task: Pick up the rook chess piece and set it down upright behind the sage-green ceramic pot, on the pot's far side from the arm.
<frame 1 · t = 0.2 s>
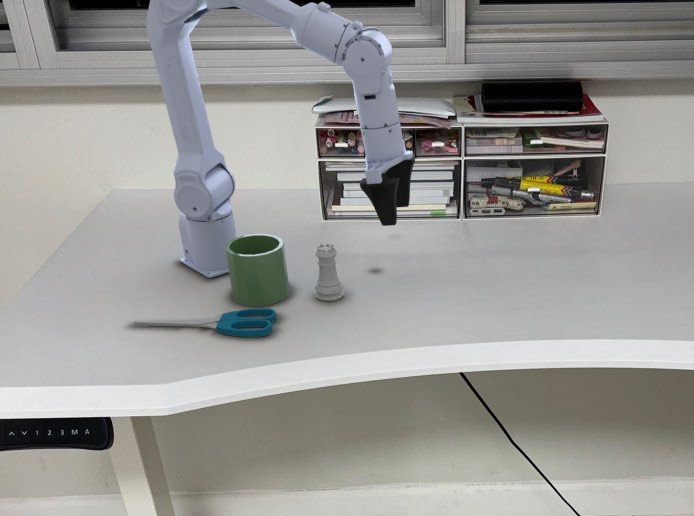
hand: (396, 215, 120), 10 cm above the table, tool pointing down, fingers open, 7 cm apart
rook chess piece: (330, 297, 121), on the table
scissors: (204, 326, 113), on the table
planter: (261, 293, 121), on the table
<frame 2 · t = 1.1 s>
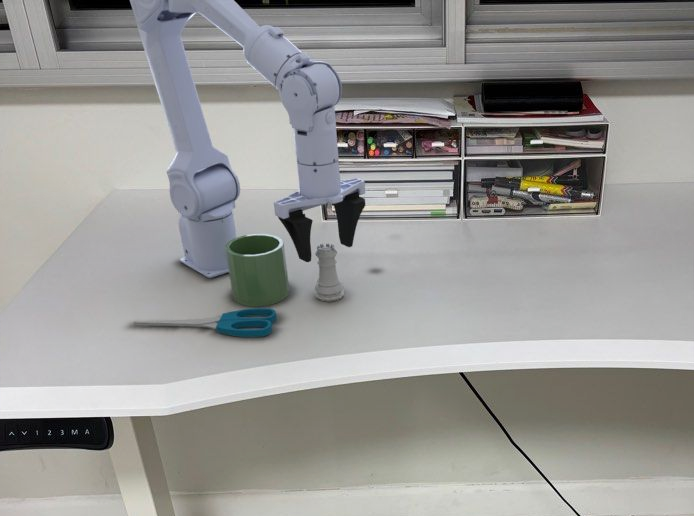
hand: (326, 252, 116), 7 cm above the table, tool pointing down, fingers open, 7 cm apart
nothing on the table moved.
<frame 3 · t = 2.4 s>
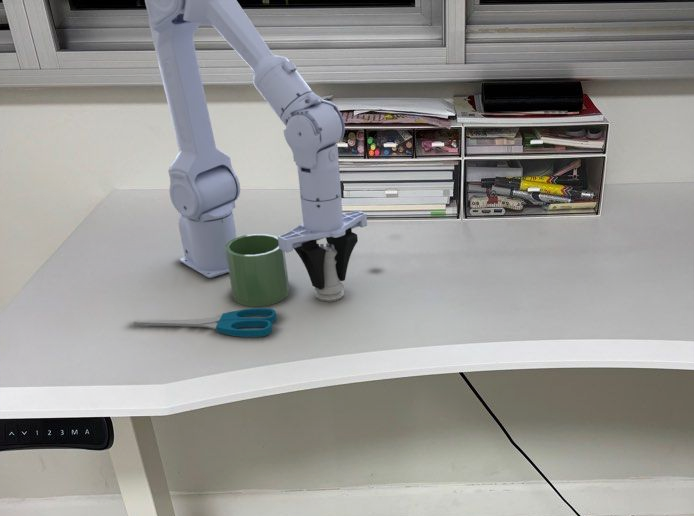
hand: (328, 282, 119), 2 cm above the table, tool pointing down, fingers closed on rook chess piece, 3 cm apart
rook chess piece: (330, 297, 121), on the table, touching gripper
everything else where it was.
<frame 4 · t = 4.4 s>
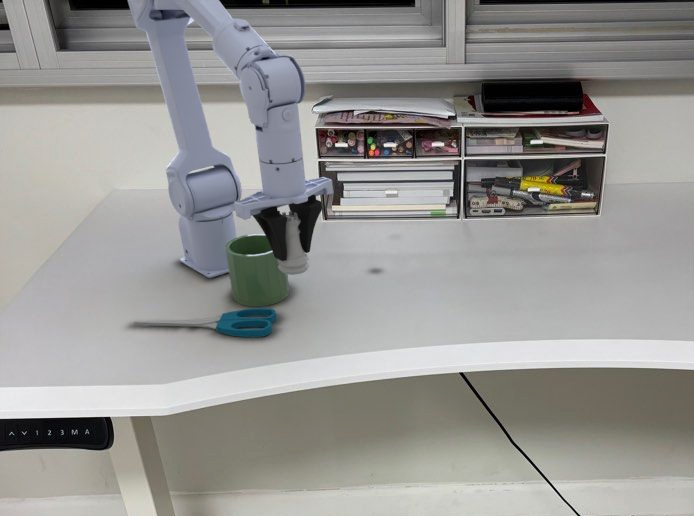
hand: (292, 254, 111), 9 cm above the table, tool pointing down, fingers closed on rook chess piece, 3 cm apart
rook chess piece: (294, 270, 113), point 7 cm above the table, touching gripper
everything else where it was.
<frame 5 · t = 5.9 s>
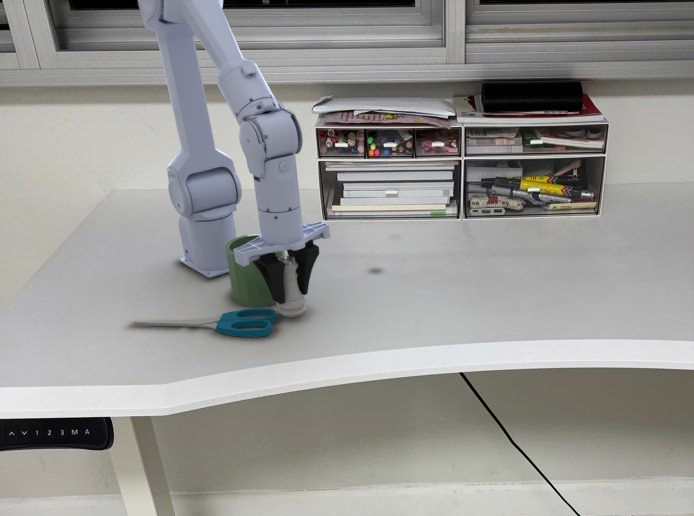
hand: (290, 297, 114), 3 cm above the table, tool pointing down, fingers closed on rook chess piece, 3 cm apart
rook chess piece: (292, 311, 115), on the table, touching gripper
everything else where it was.
when the fingers open (2 cm above the table, at t = 6.4 s): rook chess piece stays where it is, on the table.
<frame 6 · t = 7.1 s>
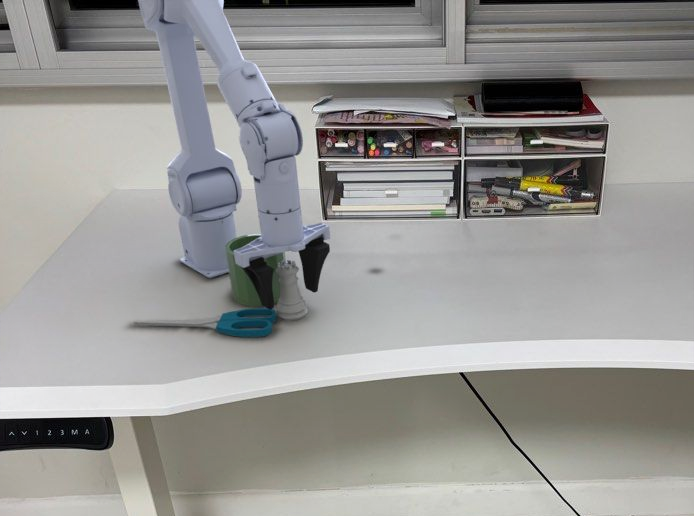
hand: (290, 298, 114), 3 cm above the table, tool pointing down, fingers open, 7 cm apart
rook chess piece: (292, 315, 116), on the table
everything else where it was.
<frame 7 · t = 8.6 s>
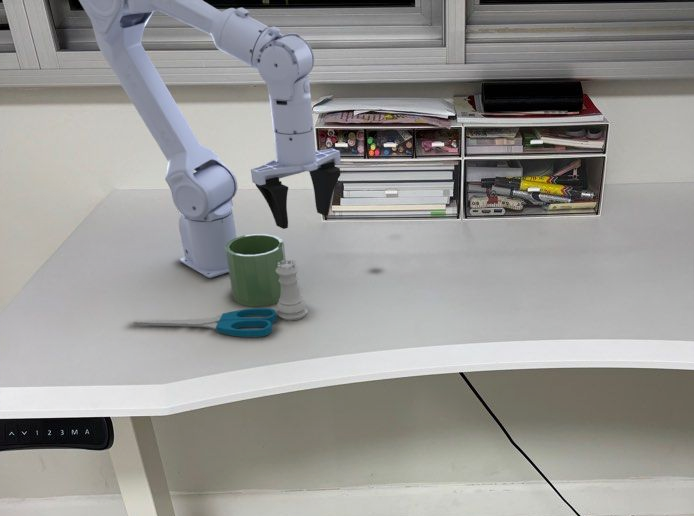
hand: (302, 220, 121), 9 cm above the table, tool pointing down, fingers open, 7 cm apart
nothing on the table moved.
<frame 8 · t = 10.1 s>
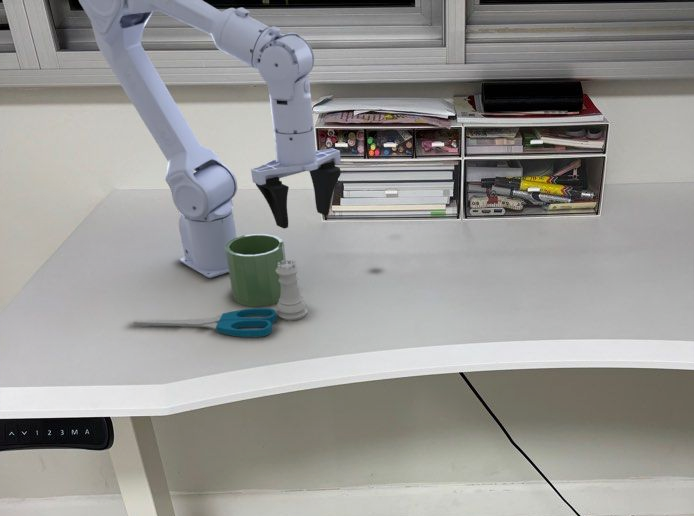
hand: (303, 219, 121), 9 cm above the table, tool pointing down, fingers open, 7 cm apart
nothing on the table moved.
at the end: rook chess piece 0.4 cm from the target spot on the table beside the planter, on the table; rook chess piece tilted 0°; the gripper is holding nothing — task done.
